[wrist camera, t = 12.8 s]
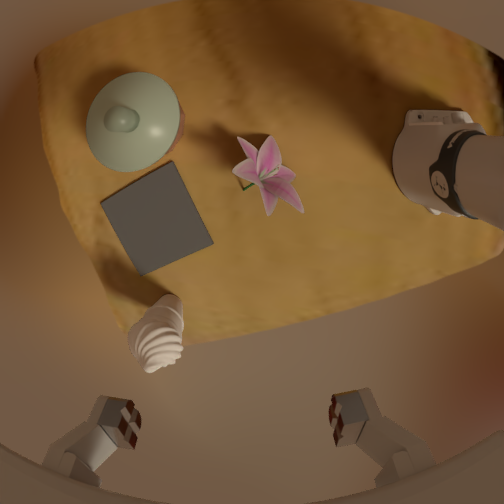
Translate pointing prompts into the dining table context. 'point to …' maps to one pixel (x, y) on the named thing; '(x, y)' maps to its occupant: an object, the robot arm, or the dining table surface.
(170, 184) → the mat
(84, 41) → the dining table surface
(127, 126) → the lid
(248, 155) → the lily
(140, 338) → the soft serve ice cream cone
